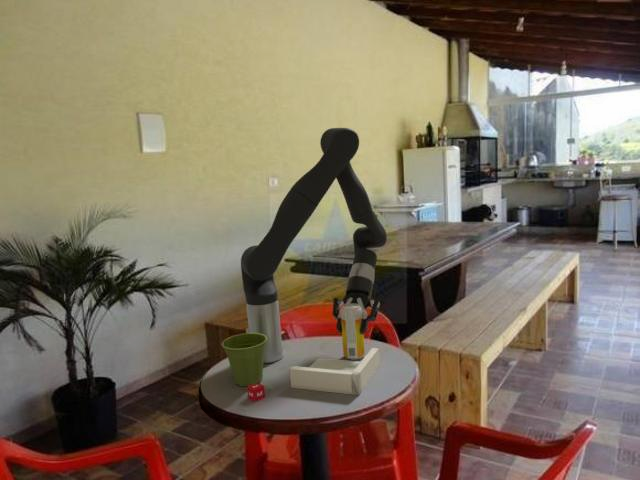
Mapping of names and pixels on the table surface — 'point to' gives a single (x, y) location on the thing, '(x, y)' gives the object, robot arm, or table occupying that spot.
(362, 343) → the beer can
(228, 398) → the table surface
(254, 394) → the dice
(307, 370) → the white corner tray
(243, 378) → the plant pot
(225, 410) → the table surface
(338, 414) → the table surface
